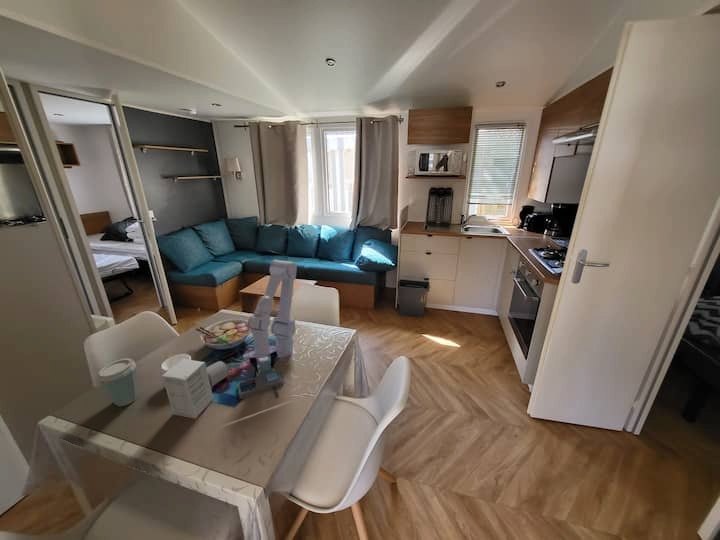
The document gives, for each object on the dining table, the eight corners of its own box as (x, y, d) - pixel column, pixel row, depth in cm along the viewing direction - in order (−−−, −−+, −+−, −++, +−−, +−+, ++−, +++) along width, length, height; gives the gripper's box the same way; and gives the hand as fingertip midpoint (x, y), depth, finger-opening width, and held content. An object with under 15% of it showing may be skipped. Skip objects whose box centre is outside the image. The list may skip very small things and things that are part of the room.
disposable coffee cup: (105, 415, 95) (91, 380, 90) (111, 395, 103) (98, 362, 98) (143, 403, 100) (132, 369, 95) (146, 384, 109) (136, 353, 104)
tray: (255, 370, 117) (254, 366, 117) (272, 365, 120) (271, 361, 120) (258, 380, 112) (257, 377, 111) (275, 375, 115) (275, 371, 114)
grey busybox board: (238, 387, 108) (237, 381, 107) (279, 374, 115) (278, 368, 114) (241, 411, 97) (240, 404, 96) (286, 395, 105) (286, 388, 103)
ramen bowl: (265, 340, 138) (263, 326, 135) (222, 365, 120) (219, 350, 117) (234, 325, 151) (232, 312, 148) (191, 346, 132) (188, 332, 130)
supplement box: (214, 399, 102) (206, 361, 97) (195, 419, 94) (185, 379, 88) (192, 394, 104) (183, 357, 99) (172, 414, 96) (160, 375, 90)
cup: (163, 381, 111) (157, 362, 108) (190, 368, 118) (186, 350, 114) (170, 394, 104) (164, 374, 101) (199, 380, 111) (194, 361, 108)
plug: (259, 370, 117) (257, 358, 114) (269, 367, 118) (267, 355, 116) (261, 376, 113) (259, 363, 111) (271, 372, 115) (269, 360, 113)
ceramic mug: (231, 377, 113) (228, 361, 111) (213, 390, 106) (210, 374, 104) (214, 369, 118) (211, 354, 115) (196, 381, 111) (192, 366, 108)
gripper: (243, 352, 104) (247, 380, 109) (281, 342, 111) (284, 369, 115) (241, 342, 110) (245, 370, 115) (278, 333, 117) (280, 359, 121)
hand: (264, 369), depth 115 cm, fingers open, 5 cm apart
